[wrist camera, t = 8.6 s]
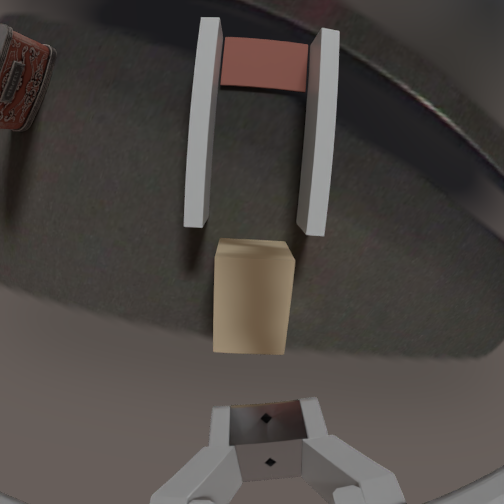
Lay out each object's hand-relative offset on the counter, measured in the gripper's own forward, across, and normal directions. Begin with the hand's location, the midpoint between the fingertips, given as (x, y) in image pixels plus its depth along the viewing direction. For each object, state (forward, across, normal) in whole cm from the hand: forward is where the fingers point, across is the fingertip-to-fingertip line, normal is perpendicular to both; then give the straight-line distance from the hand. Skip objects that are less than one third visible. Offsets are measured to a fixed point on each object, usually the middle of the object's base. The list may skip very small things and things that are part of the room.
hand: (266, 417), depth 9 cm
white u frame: (+17, -2, -10) cm, 20 cm away
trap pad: (+17, -2, -14) cm, 22 cm away
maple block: (+17, 0, +2) cm, 17 cm away
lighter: (+17, +18, -17) cm, 30 cm away
